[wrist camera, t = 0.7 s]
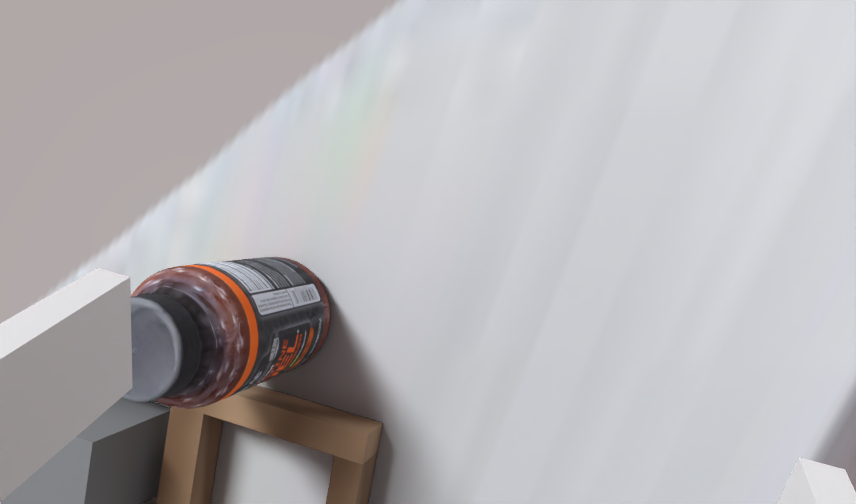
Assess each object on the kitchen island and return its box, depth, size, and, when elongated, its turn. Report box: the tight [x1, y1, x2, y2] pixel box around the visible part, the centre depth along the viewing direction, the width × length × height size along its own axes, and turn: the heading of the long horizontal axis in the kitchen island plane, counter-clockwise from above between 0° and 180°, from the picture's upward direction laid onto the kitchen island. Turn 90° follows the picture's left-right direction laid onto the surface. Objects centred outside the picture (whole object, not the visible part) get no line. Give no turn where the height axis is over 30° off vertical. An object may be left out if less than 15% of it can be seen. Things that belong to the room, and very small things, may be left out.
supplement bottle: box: [122, 257, 331, 409], centre depth 31 cm, size 6×6×11 cm
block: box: [1, 397, 171, 504], centre depth 37 cm, size 5×5×6 cm
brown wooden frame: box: [156, 385, 383, 504], centre depth 37 cm, size 20×10×2 cm, turn 79°
